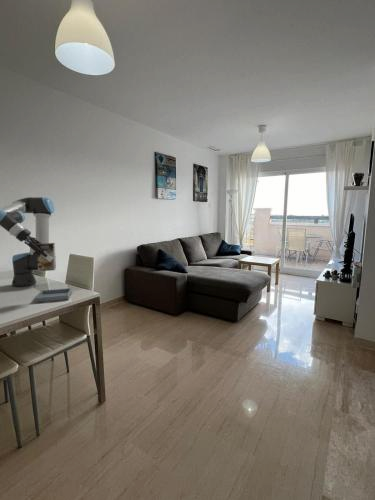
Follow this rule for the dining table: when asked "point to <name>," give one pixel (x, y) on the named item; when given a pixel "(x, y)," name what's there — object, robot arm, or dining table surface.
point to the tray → (53, 295)
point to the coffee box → (42, 261)
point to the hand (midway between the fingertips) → (53, 259)
